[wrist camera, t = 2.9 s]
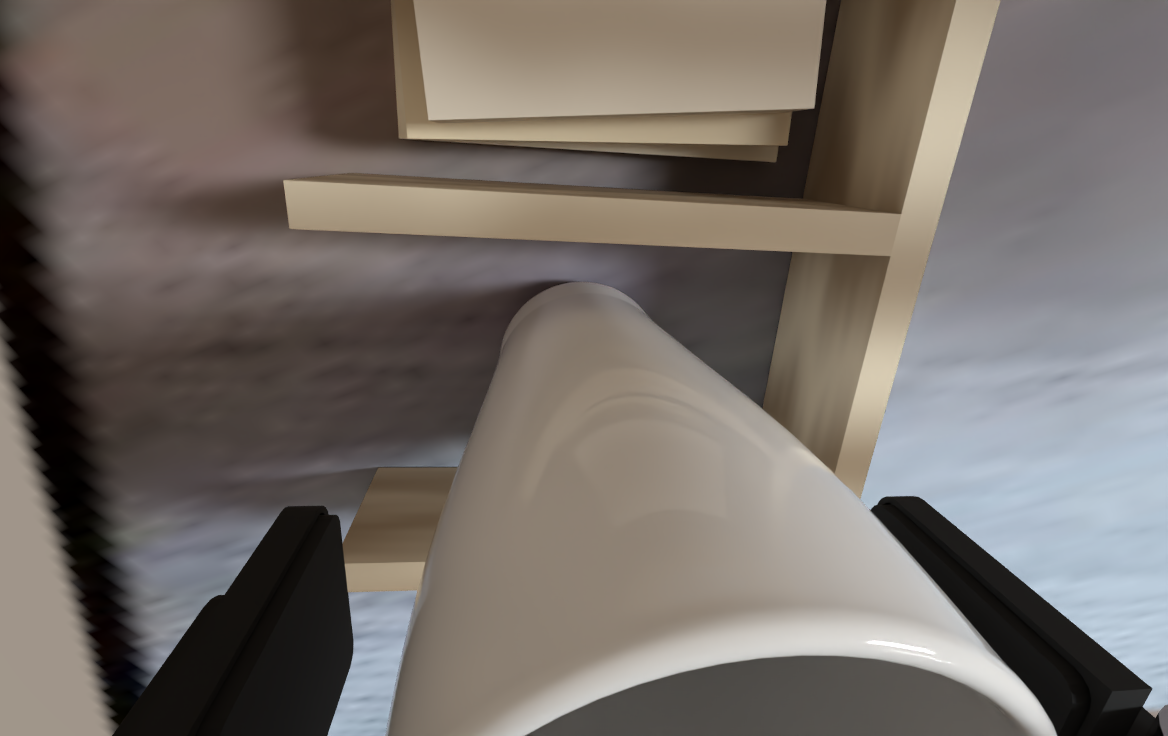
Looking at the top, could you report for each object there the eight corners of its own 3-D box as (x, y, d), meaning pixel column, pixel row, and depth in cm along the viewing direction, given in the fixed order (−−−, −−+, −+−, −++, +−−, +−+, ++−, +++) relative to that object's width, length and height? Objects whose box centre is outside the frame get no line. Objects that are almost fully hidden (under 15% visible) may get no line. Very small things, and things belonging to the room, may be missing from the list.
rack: (317, -232, 13) (202, -447, 8) (905, -151, 15) (1083, -292, 10) (380, 491, 20) (336, 592, 15) (771, 488, 22) (837, 578, 17)
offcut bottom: (397, -105, 15) (382, -134, 13) (791, -61, 16) (818, -83, 14) (410, 139, 17) (399, 138, 15) (755, 161, 18) (776, 161, 16)
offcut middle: (396, -112, 13) (380, -145, 12) (793, -87, 14) (824, -115, 13) (418, 139, 15) (407, 138, 14) (763, 146, 16) (787, 145, 15)
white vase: (532, 468, 20) (548, 1145, 6) (442, 308, 18) (150, 849, 4) (700, 394, 20) (1106, 946, 6) (632, 220, 17) (1059, 475, 4)
